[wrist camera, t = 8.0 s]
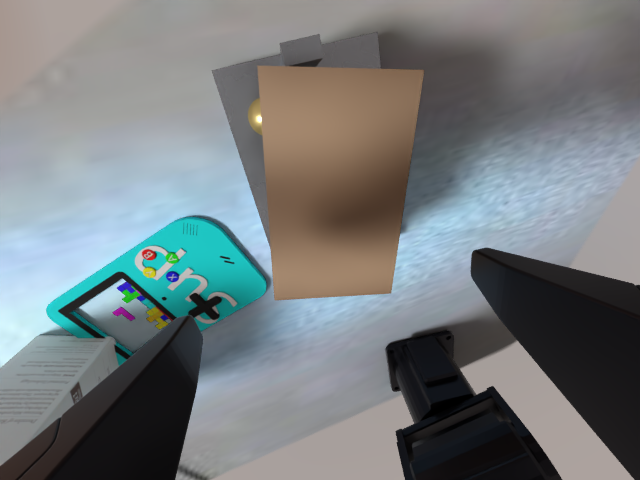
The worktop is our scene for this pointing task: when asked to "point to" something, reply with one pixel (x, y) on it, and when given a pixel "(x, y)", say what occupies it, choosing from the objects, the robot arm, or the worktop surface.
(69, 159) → the worktop surface
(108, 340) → the skincare box
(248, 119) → the chassis
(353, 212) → the tan block
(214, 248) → the handheld gaming console
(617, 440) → the robot arm
